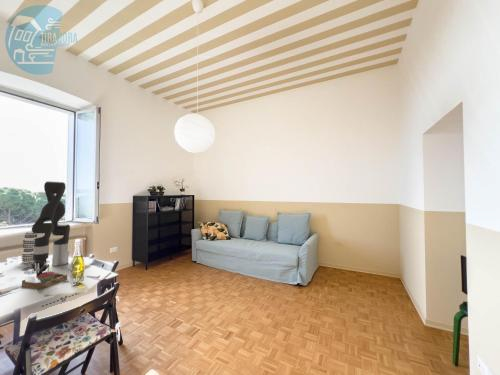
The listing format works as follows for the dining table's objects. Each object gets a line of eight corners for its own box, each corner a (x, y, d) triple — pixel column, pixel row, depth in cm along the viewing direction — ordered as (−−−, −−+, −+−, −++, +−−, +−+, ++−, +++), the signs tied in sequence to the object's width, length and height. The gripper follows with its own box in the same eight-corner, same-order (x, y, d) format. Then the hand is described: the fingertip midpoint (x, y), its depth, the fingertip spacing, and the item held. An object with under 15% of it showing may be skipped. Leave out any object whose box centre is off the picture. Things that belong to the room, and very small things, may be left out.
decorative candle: (33, 258, 181) (36, 230, 182) (39, 260, 177) (41, 231, 178) (19, 261, 172) (21, 232, 173) (24, 263, 169) (26, 233, 170)
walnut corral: (49, 276, 148) (50, 271, 148) (67, 279, 145) (67, 273, 145) (21, 286, 132) (22, 280, 132) (40, 289, 129) (40, 283, 129)
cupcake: (57, 281, 141) (58, 264, 141) (41, 286, 133) (43, 268, 133) (49, 279, 144) (51, 261, 144) (33, 283, 136) (35, 265, 136)
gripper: (55, 251, 142) (53, 276, 142) (40, 249, 145) (37, 274, 144) (42, 254, 135) (40, 281, 135) (26, 252, 137) (24, 278, 137)
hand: (39, 277), depth 140 cm, fingers closed
